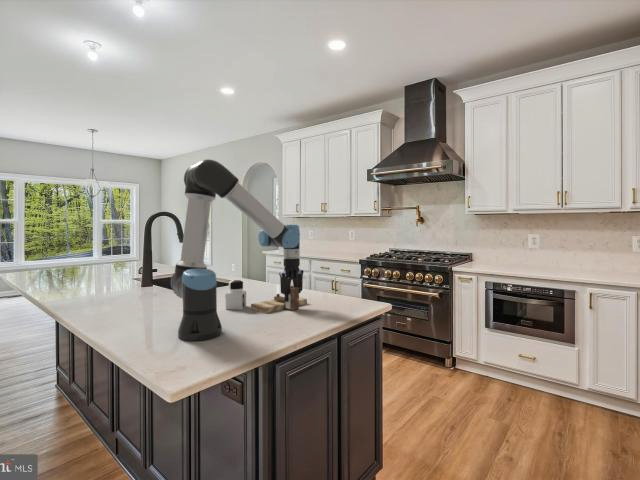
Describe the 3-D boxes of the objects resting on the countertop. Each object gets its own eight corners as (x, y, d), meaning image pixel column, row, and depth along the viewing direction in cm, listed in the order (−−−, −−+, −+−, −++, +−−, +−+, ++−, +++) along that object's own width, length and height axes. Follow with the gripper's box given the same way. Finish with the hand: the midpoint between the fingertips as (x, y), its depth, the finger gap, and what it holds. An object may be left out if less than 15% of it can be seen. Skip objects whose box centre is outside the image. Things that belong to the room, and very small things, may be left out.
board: (265, 313, 161) (265, 308, 161) (250, 309, 169) (250, 304, 169) (306, 303, 180) (306, 298, 180) (291, 300, 188) (291, 295, 187)
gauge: (292, 310, 166) (292, 287, 165) (272, 305, 175) (272, 283, 174) (298, 308, 169) (298, 285, 168) (279, 304, 178) (278, 282, 177)
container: (246, 306, 175) (246, 279, 174) (241, 310, 167) (241, 282, 167) (231, 305, 176) (230, 279, 175) (225, 309, 168) (225, 281, 167)
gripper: (282, 259, 159) (283, 312, 160) (310, 256, 171) (310, 305, 172) (272, 258, 164) (272, 309, 165) (299, 255, 176) (299, 303, 178)
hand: (291, 307), depth 169 cm, fingers closed on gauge, 4 cm apart
